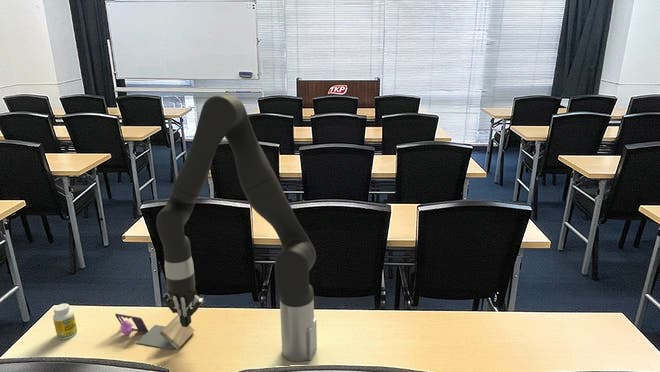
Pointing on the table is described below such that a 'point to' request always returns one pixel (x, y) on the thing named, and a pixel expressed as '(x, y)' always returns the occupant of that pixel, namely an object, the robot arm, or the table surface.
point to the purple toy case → (127, 326)
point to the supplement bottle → (64, 321)
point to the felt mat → (155, 338)
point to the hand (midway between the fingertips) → (186, 325)
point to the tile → (176, 332)
